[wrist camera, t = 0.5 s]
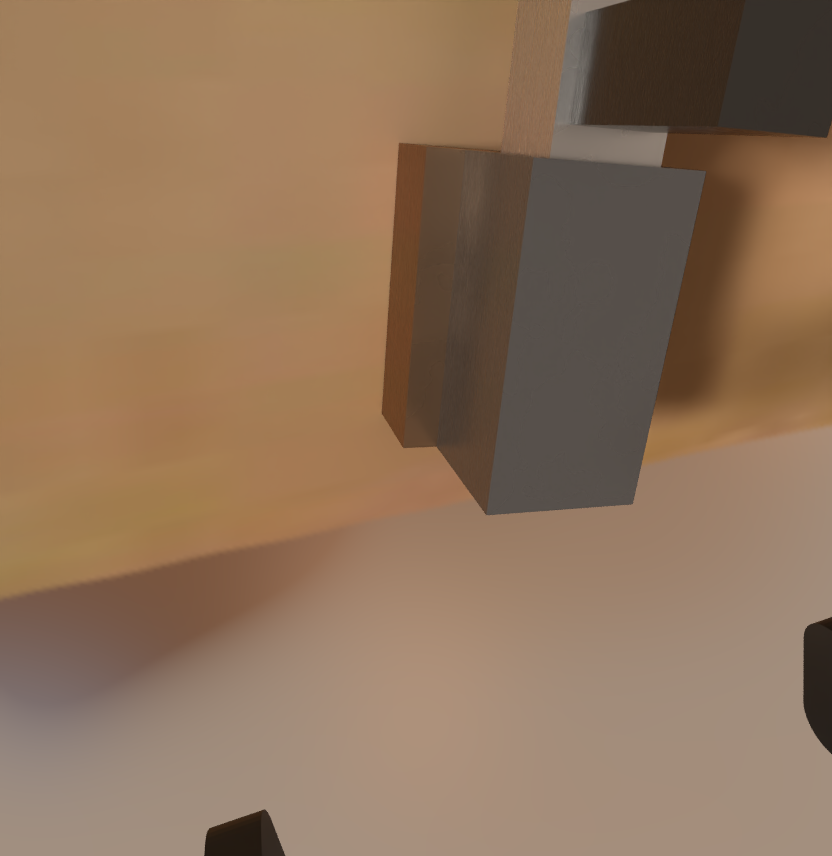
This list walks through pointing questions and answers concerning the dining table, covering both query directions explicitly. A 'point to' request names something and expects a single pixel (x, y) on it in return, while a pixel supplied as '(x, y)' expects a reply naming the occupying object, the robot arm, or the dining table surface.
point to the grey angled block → (664, 75)
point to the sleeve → (533, 318)
